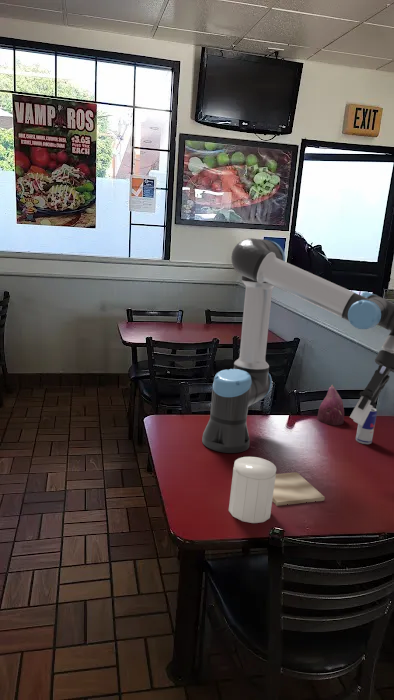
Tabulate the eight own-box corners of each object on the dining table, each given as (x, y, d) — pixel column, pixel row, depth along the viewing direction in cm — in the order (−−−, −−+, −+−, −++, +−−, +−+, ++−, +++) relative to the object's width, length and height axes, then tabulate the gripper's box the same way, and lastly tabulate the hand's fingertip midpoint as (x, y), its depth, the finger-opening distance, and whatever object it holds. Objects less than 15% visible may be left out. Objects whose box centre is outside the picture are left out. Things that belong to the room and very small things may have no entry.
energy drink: (372, 445, 170) (378, 412, 168) (356, 443, 171) (362, 409, 169) (370, 439, 176) (376, 407, 173) (354, 437, 176) (360, 405, 174)
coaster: (252, 479, 138) (252, 476, 138) (296, 475, 143) (296, 472, 143) (276, 505, 125) (277, 502, 125) (324, 500, 130) (324, 497, 130)
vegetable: (313, 423, 196) (311, 385, 196) (339, 421, 197) (336, 383, 197) (322, 426, 186) (319, 386, 186) (349, 424, 187) (346, 384, 187)
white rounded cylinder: (222, 502, 124) (227, 458, 122) (258, 498, 128) (264, 455, 125) (239, 525, 115) (245, 477, 113) (277, 520, 119) (284, 473, 116)
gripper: (407, 352, 127) (366, 425, 127) (405, 369, 149) (370, 430, 149) (379, 339, 130) (339, 410, 130) (381, 357, 152) (347, 418, 152)
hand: (355, 421), depth 139 cm, fingers open, 13 cm apart
